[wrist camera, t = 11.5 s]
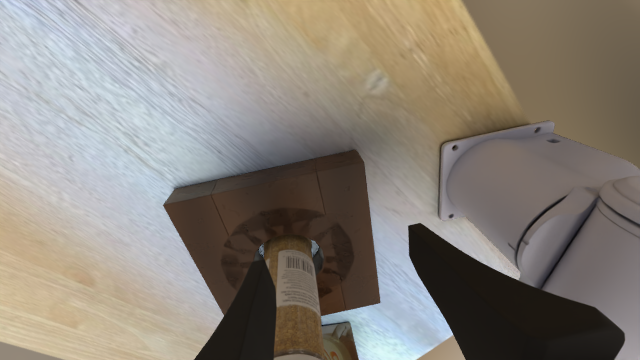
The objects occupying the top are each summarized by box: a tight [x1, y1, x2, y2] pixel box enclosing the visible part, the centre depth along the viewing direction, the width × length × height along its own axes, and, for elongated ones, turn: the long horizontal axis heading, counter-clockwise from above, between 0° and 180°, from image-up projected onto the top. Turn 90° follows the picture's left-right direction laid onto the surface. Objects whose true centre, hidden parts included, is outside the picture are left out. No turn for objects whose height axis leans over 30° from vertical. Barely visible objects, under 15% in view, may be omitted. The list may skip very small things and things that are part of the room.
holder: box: [163, 150, 380, 316], centre depth 25 cm, size 15×16×2 cm
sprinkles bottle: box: [264, 234, 326, 360], centre depth 20 cm, size 5×5×13 cm
